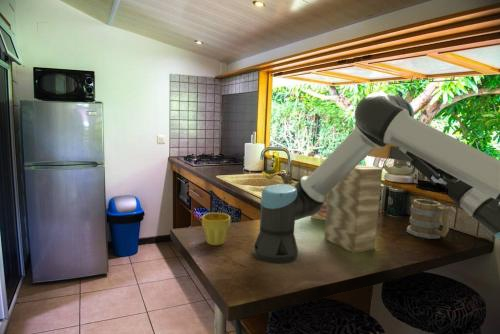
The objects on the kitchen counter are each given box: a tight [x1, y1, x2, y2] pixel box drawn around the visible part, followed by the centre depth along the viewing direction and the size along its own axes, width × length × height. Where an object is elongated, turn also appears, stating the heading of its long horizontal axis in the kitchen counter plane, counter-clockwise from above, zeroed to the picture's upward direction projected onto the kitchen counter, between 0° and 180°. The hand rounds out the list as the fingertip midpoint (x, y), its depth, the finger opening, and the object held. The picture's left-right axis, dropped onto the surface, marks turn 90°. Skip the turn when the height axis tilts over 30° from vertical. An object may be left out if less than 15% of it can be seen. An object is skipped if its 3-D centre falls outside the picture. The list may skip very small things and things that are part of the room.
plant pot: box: [201, 212, 232, 246], centre depth 121 cm, size 10×10×10 cm
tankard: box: [406, 198, 457, 240], centre depth 138 cm, size 20×13×15 cm, turn 14°
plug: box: [367, 143, 412, 163], centre depth 105 cm, size 20×6×6 cm, turn 28°
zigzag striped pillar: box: [324, 163, 383, 254], centre depth 124 cm, size 16×10×30 cm, turn 28°
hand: (406, 145), depth 103 cm, fingers closed on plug, 4 cm apart
